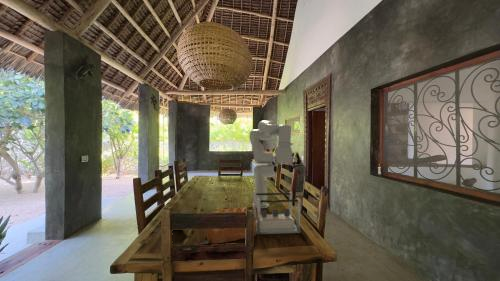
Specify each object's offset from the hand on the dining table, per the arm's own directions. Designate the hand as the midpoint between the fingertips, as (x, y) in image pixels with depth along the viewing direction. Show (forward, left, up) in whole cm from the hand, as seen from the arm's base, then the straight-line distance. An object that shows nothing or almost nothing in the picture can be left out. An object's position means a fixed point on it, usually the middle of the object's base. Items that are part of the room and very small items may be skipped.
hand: (283, 172), depth 141 cm
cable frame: (+6, -6, -32) cm, 33 cm away
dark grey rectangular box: (+6, -6, -26) cm, 27 cm away
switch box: (+6, -6, -32) cm, 33 cm away
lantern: (+14, -55, -32) cm, 66 cm away
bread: (+15, -32, -32) cm, 48 cm away
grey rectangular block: (+6, -13, -26) cm, 29 cm away
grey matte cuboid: (+6, +1, -26) cm, 26 cm away
